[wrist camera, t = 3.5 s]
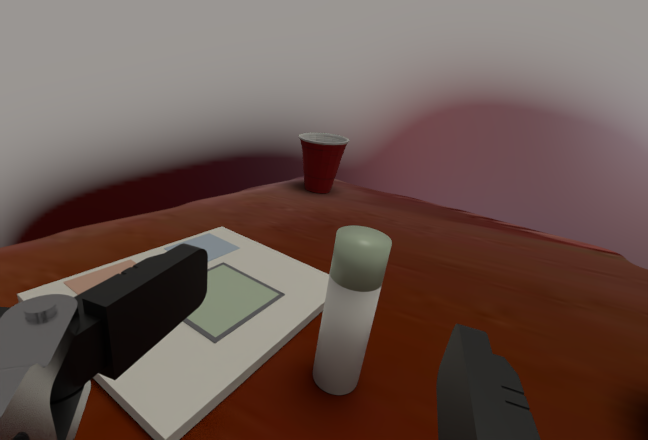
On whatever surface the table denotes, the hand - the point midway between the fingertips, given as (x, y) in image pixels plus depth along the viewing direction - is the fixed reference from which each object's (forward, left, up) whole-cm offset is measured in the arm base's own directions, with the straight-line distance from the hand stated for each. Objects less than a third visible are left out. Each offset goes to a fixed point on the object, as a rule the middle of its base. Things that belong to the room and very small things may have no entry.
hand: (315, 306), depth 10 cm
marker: (+3, -11, -14) cm, 18 cm away
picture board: (+18, -11, -14) cm, 25 cm away
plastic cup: (+32, -53, -14) cm, 63 cm away
